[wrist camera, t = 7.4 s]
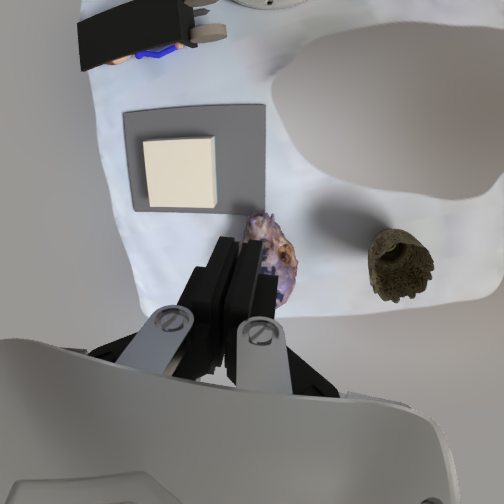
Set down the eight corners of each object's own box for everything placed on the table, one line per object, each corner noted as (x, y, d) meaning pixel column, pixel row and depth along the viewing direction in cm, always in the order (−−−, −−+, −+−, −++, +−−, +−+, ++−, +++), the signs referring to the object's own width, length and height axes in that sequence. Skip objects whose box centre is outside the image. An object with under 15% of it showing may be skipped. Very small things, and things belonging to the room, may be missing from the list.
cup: (410, 208, 35) (434, 237, 28) (415, 259, 38) (434, 294, 31) (354, 220, 37) (366, 252, 30) (362, 270, 40) (373, 309, 33)
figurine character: (223, -4, 27) (102, 29, 28) (215, -26, 20) (71, 20, 22) (231, 46, 30) (109, 76, 31) (225, 34, 23) (78, 76, 25)
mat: (125, 113, 34) (123, 113, 34) (265, 105, 32) (265, 105, 32) (136, 210, 40) (134, 211, 40) (264, 214, 38) (264, 215, 38)
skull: (234, 206, 37) (232, 233, 32) (299, 205, 37) (308, 232, 32) (237, 285, 44) (236, 317, 39) (293, 284, 44) (298, 315, 39)
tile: (215, 136, 34) (150, 138, 35) (210, 138, 32) (143, 141, 33) (217, 202, 38) (156, 201, 39) (213, 208, 36) (150, 206, 37)
